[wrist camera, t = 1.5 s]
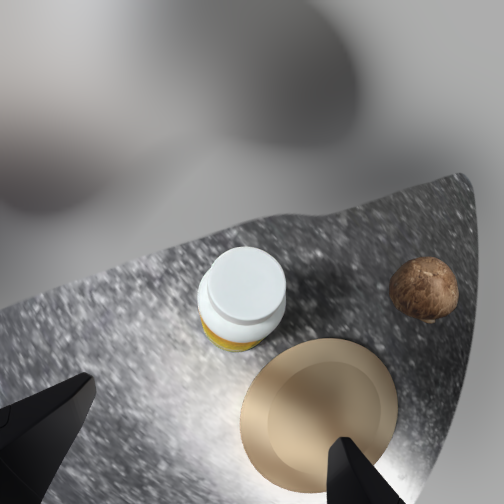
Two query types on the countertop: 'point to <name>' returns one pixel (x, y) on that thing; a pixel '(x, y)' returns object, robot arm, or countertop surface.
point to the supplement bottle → (241, 298)
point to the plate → (316, 411)
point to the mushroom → (424, 289)
